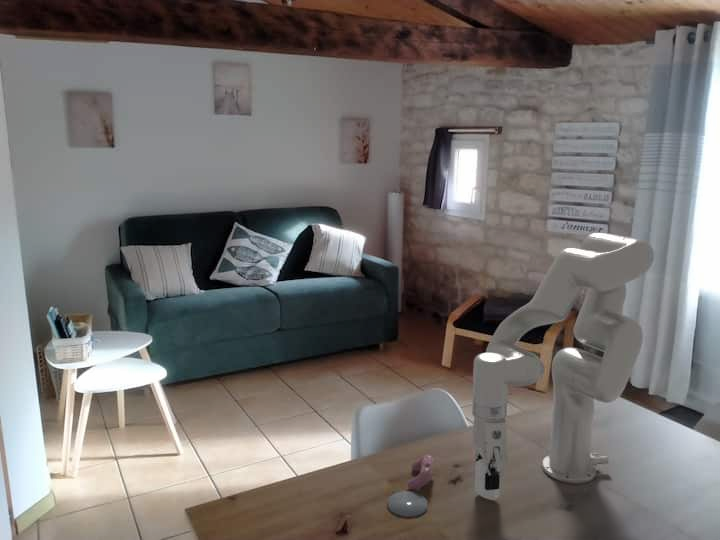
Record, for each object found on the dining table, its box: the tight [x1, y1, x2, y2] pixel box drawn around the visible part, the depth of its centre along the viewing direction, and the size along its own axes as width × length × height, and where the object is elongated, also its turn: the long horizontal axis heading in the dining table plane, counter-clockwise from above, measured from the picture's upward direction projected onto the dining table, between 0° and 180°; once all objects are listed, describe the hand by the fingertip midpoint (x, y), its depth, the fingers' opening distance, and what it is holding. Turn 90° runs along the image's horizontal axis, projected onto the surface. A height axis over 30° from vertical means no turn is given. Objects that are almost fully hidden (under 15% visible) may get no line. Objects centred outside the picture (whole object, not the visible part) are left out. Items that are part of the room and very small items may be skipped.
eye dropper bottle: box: [474, 458, 501, 501], centre depth 138 cm, size 4×6×12 cm
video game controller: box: [407, 454, 436, 491], centre depth 146 cm, size 10×5×7 cm, turn 169°
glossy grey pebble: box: [387, 490, 429, 518], centre depth 137 cm, size 9×9×1 cm
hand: (487, 480), depth 139 cm, fingers closed on eye dropper bottle, 5 cm apart
